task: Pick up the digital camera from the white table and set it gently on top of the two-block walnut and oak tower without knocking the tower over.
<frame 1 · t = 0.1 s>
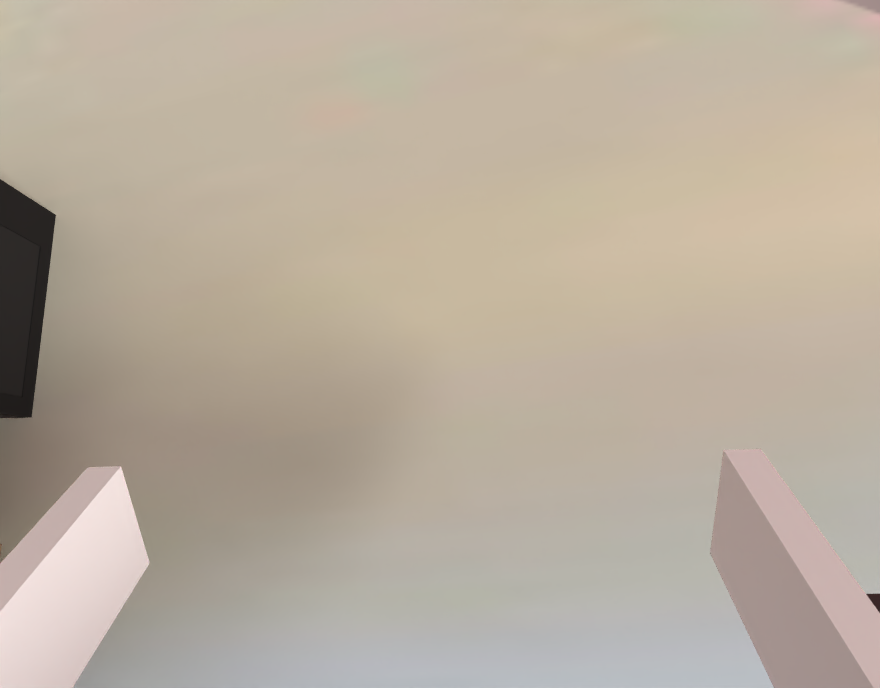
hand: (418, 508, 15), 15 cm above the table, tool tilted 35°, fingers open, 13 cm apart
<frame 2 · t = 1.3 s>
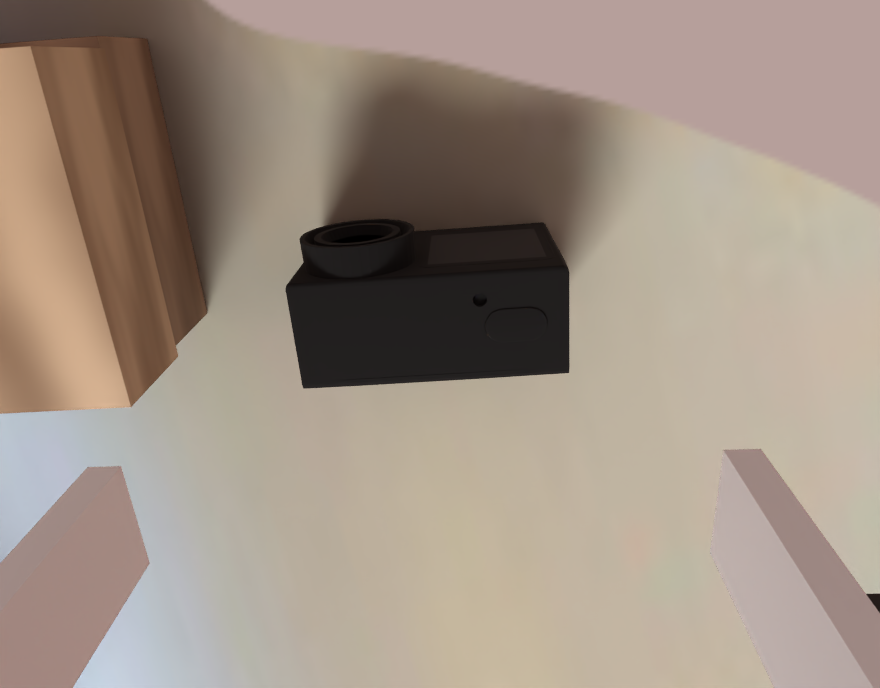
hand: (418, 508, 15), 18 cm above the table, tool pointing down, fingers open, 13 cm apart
tower base: (74, 192, 30), on the table, touching tower top
tower top: (20, 223, 26), point 4 cm above the table, touching tower base
digital camera: (435, 261, 31), on the table
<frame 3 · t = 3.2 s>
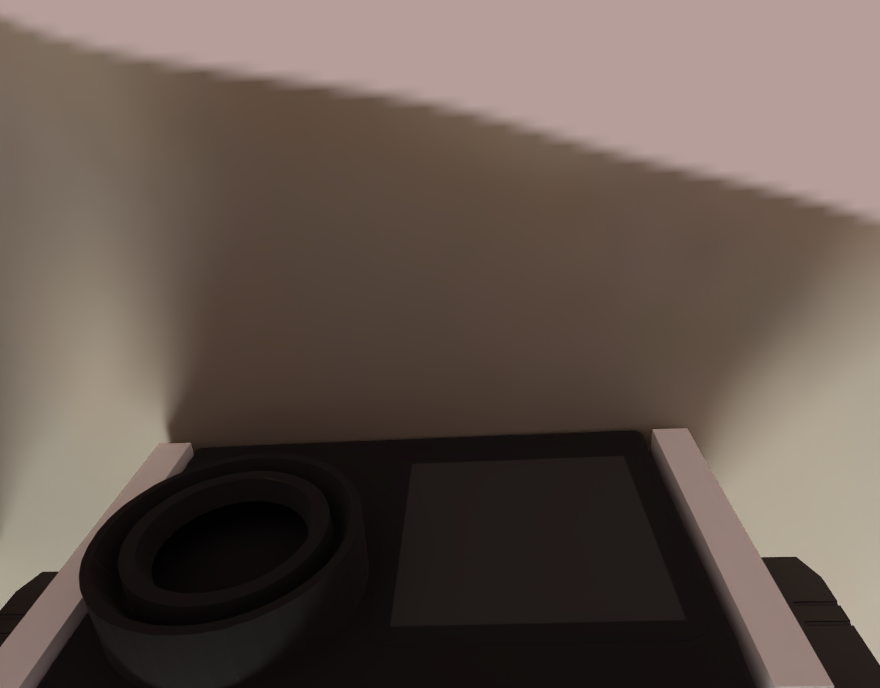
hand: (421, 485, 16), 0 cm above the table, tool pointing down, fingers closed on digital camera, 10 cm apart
digital camera: (422, 486, 16), on the table, touching gripper
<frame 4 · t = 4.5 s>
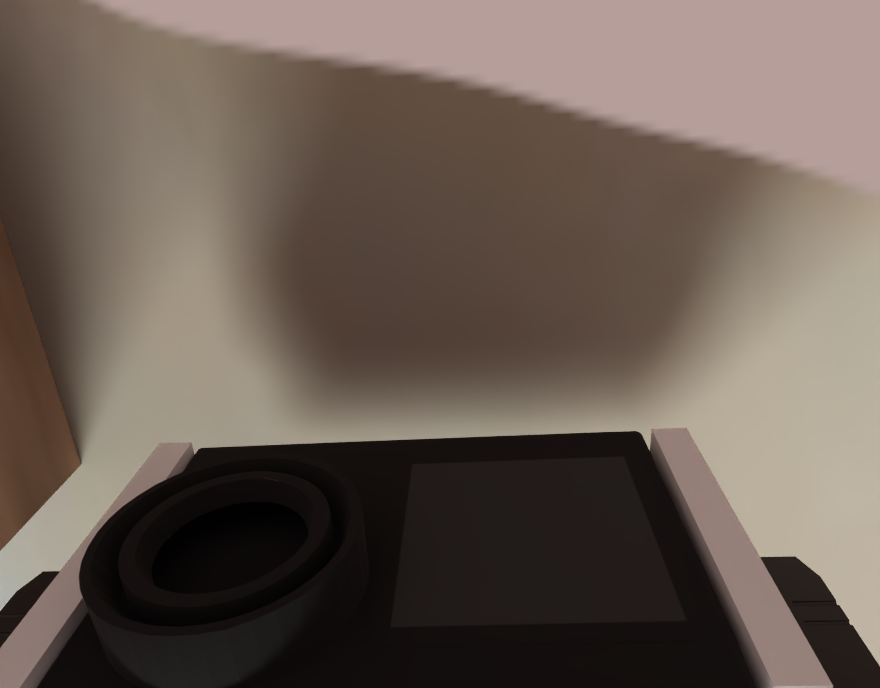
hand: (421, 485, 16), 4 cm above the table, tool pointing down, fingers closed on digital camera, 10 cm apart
digital camera: (423, 486, 16), point 3 cm above the table, touching gripper
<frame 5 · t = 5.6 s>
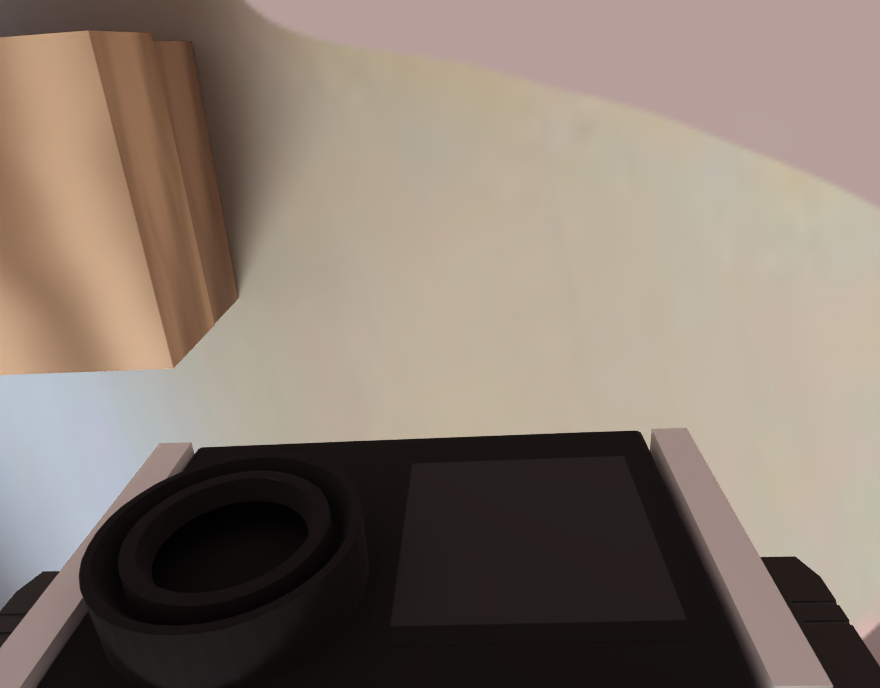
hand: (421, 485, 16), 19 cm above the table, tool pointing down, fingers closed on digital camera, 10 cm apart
tower base: (118, 182, 33), on the table, touching tower top
tower top: (70, 198, 28), point 4 cm above the table, touching tower base
digital camera: (422, 485, 16), point 18 cm above the table, touching gripper
when the fingers open (11 cm above the table, at t = 10.7 s): digital camera drops 2 cm, resting on tower top.
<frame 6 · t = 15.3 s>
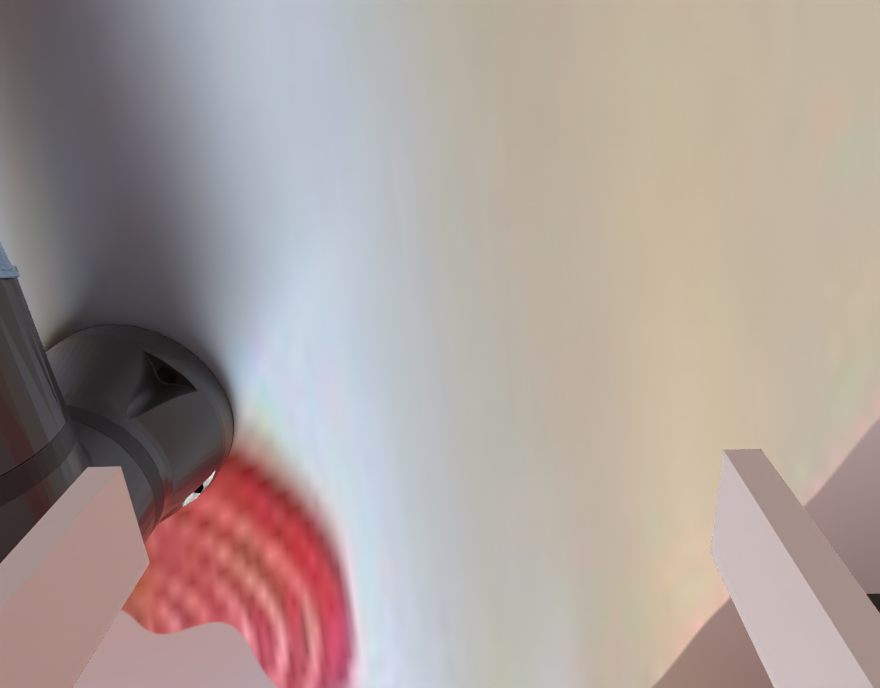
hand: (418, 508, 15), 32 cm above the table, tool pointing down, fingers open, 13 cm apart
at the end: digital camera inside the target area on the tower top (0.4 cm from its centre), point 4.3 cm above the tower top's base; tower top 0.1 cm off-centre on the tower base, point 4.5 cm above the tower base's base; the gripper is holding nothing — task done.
